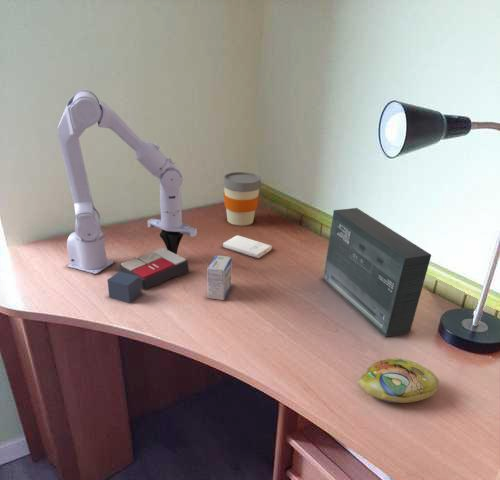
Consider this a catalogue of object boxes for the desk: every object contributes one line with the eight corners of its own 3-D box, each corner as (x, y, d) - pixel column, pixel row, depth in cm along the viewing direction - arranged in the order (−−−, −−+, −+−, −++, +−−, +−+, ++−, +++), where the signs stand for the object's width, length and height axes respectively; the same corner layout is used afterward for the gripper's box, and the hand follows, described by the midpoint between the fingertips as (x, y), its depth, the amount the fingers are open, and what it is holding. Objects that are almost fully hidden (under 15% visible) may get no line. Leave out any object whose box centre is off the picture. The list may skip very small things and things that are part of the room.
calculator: (117, 262, 130) (163, 244, 139) (120, 277, 132) (164, 258, 141) (143, 277, 123) (188, 257, 133) (144, 292, 126) (189, 271, 135)
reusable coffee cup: (218, 225, 165) (219, 181, 157) (226, 212, 175) (227, 170, 167) (255, 229, 163) (258, 185, 155) (261, 216, 174) (263, 173, 166)
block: (109, 297, 122) (107, 279, 119) (121, 288, 126) (119, 271, 123) (129, 303, 120) (128, 285, 117) (141, 294, 124) (139, 276, 121)
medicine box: (223, 301, 123) (224, 270, 118) (206, 298, 124) (207, 267, 119) (231, 286, 130) (232, 256, 125) (214, 284, 130) (215, 254, 126)
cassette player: (410, 331, 116) (431, 254, 105) (385, 337, 113) (404, 258, 103) (344, 276, 138) (356, 207, 127) (323, 279, 136) (333, 210, 125)
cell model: (450, 399, 92) (386, 380, 87) (423, 421, 97) (361, 404, 92) (432, 355, 100) (372, 336, 95) (408, 377, 105) (349, 360, 100)
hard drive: (237, 239, 156) (271, 249, 150) (222, 247, 150) (257, 259, 144) (237, 234, 155) (271, 244, 149) (222, 242, 149) (257, 254, 144)
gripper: (201, 209, 134) (202, 254, 141) (155, 200, 138) (158, 244, 146) (189, 217, 129) (190, 264, 136) (141, 208, 133) (145, 253, 140)
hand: (173, 254), depth 140 cm, fingers closed
